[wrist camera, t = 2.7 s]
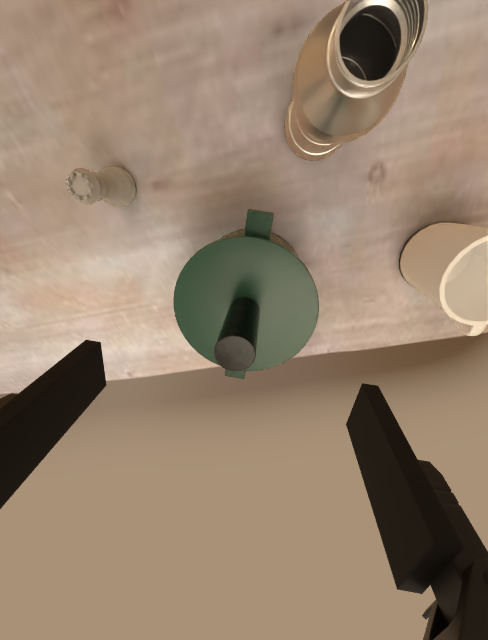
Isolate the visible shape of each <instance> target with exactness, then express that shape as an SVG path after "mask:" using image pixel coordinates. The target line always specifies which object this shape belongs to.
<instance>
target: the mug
mask: <svg viewBox="0 0 488 640" xmlns="http://www.w3.org/2000/svg"><path fill="white" fill-rule="evenodd" d="M399 266H400V271H401V274H402V276H403V277H404V278H405V280H406V281H407V282H408V283H410V284H411V285H412V286H414V287H415V288H416V289H418V290H419V291H420V292H421V293H423V294H424V295H425V296H427V297H428V298H429V299H431V300H432V301H433V302H435V303H436V304H437V305H438V306H439V307H440V308H441V309H442V310H443V311H444V312H445V313H446V314H447V315H448V316H450V318H451V319H452V320H453V322H454V323H455V324H456V326H457V327H458V329H459V330H460V331H461V332H462V333H463V334H465V335H469V336H476V335H479V334H480V333H481V332H483V330H484V329H485V327H486V325H488V228H485V227H478V226H471V225H464V224H457V223H450V222H440V223H435V224H431V225H428V226H426V227H424V228H422V229H420V230H419V231H418V232H416V233H415V234H414V235H413V236H412V237H411V238H410V239H409V240H408V241H407V243H406V244H405V246H404V248H403V250H402V252H401V255H400V260H399ZM471 325H472V326H471Z"/></svg>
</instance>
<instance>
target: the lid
mask: <svg viewBox="0 0 488 640" xmlns="http://www.w3.org/2000/svg"><path fill="white" fill-rule="evenodd" d="M174 311H175V317H176V320H177V323H178V325H179V328H180V330H181V332H182V334H183V335H184V337H185V338H186V340H187V341H188V342H189V344H190V345H191V346H192V347H193V348H194V349H195V350H196V351H197V352H198V353H200V354H201V355H202V356H203V357H205V358H206V359H208V360H210V361H211V362H213V363H216V364H218V365H220V366H222V367H223V368H225V369H227V370H231V371H257V370H263V369H268V368H271V367H275V366H277V365H280V364H282V363H284V362H285V361H287V360H289V359H290V358H292V357H293V356H294V355H296V354H297V353H298V352H299V351H300V350H301V349H302V348H303V347H304V346H305V344H306V343H307V342H308V340H309V339H310V337H311V335H312V333H313V331H314V329H315V326H316V323H317V318H318V311H319V302H318V294H317V290H316V286H315V284H314V281H313V278H312V276H311V275H310V273H309V271H308V269H307V268H306V267H305V265H304V264H303V263H302V261H301V260H300V259H299V258H298V257H297V256H296V255H295V254H293V253H292V252H291V251H289V250H288V249H287V248H285V247H283V246H282V245H280V244H278V243H276V242H273V241H271V240H268V239H265V238H260V237H255V236H233V237H227V238H224V239H220V240H217V241H215V242H213V243H211V244H209V245H207V246H205V247H204V248H202V249H201V250H199V251H198V252H197V253H196V254H195V255H194V256H193V257H192V258H191V259H190V260H189V261H188V262H187V263H186V265H185V266H184V268H183V269H182V271H181V273H180V275H179V277H178V280H177V282H176V286H175V290H174Z"/></svg>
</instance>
